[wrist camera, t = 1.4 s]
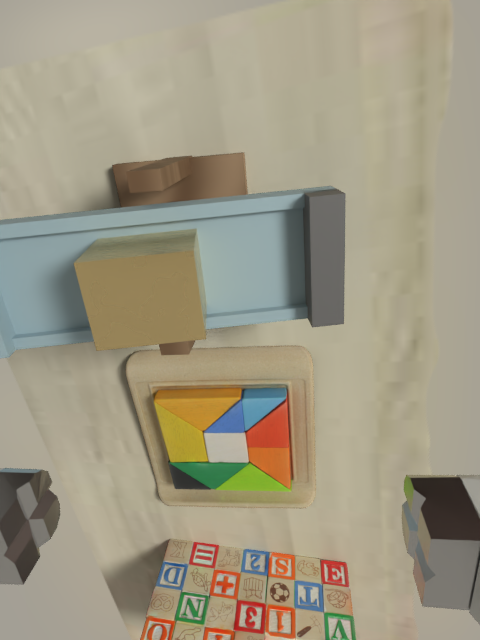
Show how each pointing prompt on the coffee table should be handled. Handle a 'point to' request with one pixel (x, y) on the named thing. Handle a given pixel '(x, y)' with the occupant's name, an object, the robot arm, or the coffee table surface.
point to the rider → (143, 289)
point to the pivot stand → (180, 190)
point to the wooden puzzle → (228, 425)
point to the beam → (215, 251)
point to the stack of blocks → (247, 596)
